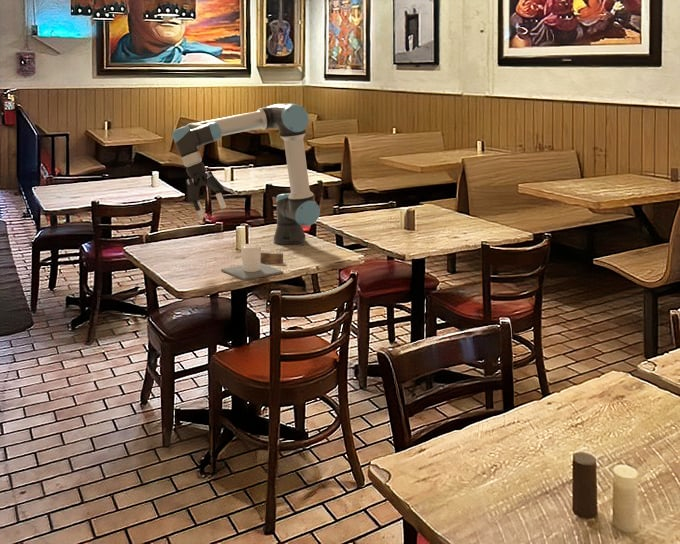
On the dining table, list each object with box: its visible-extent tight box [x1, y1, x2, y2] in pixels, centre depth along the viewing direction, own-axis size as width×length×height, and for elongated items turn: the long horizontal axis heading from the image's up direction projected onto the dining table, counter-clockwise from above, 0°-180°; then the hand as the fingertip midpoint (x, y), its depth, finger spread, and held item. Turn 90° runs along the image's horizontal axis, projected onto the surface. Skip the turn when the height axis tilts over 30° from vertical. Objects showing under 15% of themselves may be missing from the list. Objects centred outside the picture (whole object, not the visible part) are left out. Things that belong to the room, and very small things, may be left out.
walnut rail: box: [260, 251, 284, 265], centre depth 318 cm, size 14×2×4 cm, turn 73°
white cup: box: [240, 243, 262, 272], centre depth 300 cm, size 8×8×10 cm
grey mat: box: [221, 262, 284, 281], centre depth 302 cm, size 18×18×1 cm
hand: (213, 212), depth 312 cm, fingers open, 13 cm apart
